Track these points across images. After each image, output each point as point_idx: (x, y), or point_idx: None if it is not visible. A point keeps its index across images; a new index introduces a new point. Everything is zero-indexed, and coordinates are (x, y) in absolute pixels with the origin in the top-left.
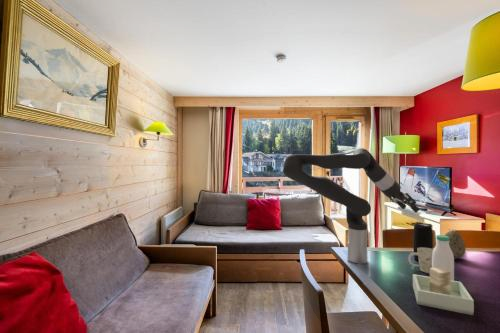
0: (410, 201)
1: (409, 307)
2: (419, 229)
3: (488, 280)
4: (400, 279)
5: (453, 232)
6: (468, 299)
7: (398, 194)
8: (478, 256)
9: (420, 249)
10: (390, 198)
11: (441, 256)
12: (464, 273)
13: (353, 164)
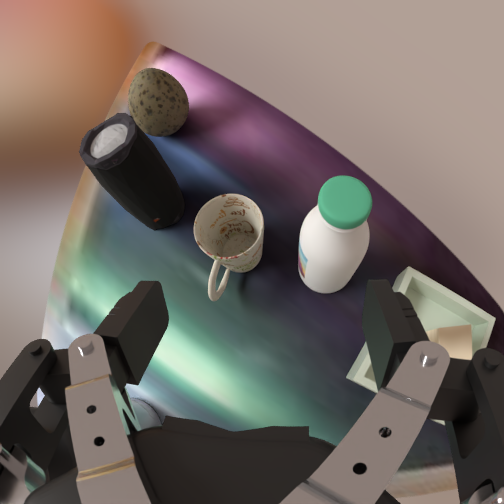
0: (409, 390)
1: (442, 446)
2: (122, 169)
3: (313, 145)
4: (297, 386)
5: (149, 75)
6: (491, 326)
7: None
8: (176, 77)
9: (198, 234)
10: (52, 448)
11: (360, 258)
12: (268, 165)
13: None
